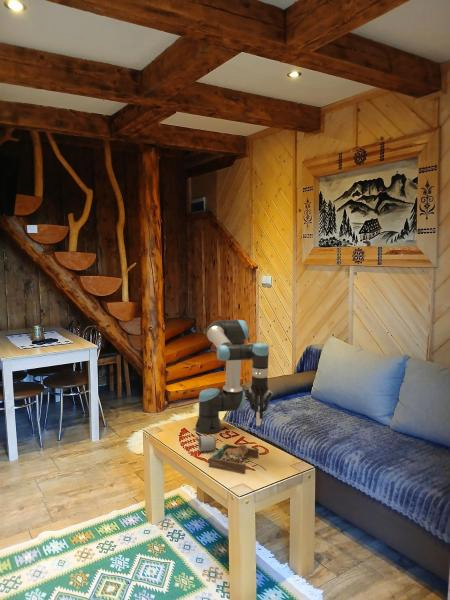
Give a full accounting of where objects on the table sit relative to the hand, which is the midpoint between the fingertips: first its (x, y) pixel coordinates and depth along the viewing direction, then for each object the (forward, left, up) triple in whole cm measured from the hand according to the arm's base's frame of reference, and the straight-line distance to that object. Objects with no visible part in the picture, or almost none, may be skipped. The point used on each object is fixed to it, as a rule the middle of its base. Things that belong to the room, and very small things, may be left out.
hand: (258, 424), depth 224 cm
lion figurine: (+2, -10, -19) cm, 21 cm away
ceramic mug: (-7, -31, -21) cm, 38 cm away
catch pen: (+1, -12, -20) cm, 23 cm away
